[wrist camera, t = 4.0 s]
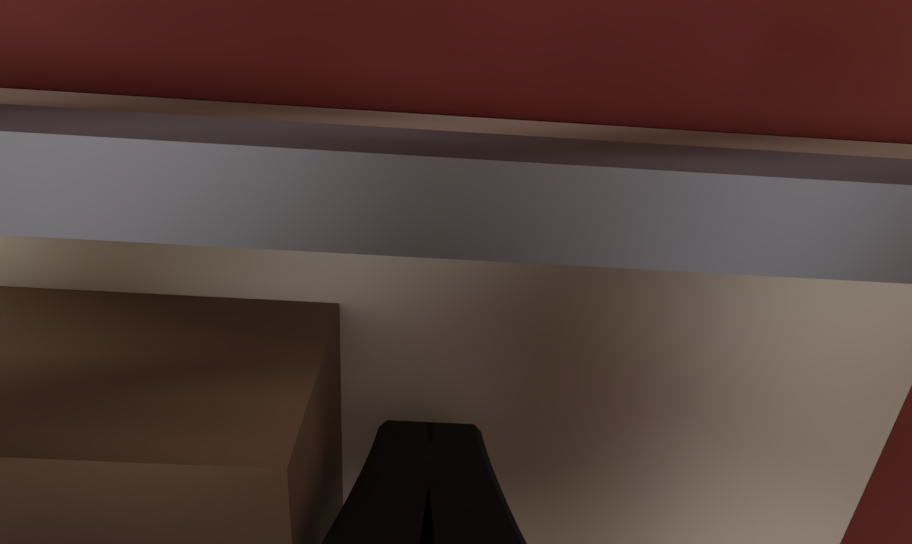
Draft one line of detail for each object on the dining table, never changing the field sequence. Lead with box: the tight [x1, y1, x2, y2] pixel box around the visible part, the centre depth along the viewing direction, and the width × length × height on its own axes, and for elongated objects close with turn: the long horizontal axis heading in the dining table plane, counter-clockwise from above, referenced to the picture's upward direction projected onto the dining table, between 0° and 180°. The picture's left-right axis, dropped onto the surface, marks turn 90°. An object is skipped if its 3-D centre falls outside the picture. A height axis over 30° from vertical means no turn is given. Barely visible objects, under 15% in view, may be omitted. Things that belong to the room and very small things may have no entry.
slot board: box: [0, 88, 912, 544], centre depth 9 cm, size 22×9×3 cm, turn 86°
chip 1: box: [0, 286, 343, 544], centre depth 8 cm, size 4×4×3 cm
